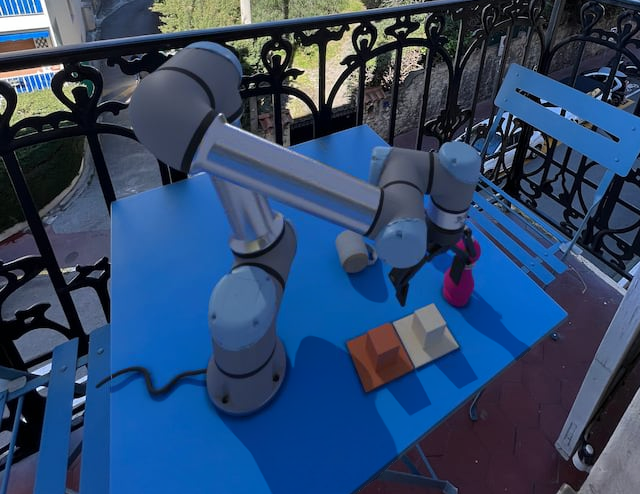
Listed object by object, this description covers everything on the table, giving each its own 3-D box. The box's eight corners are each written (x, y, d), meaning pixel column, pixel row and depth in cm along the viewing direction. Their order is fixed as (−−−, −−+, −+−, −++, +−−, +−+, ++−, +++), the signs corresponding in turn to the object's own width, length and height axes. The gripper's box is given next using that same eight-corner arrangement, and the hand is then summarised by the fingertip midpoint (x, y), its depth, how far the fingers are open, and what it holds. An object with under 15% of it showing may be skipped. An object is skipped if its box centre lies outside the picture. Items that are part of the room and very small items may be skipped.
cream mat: (415, 368, 84) (416, 367, 83) (392, 323, 92) (393, 322, 91) (458, 347, 88) (458, 346, 88) (433, 306, 96) (433, 305, 96)
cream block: (422, 350, 87) (427, 332, 84) (410, 328, 91) (414, 310, 88) (442, 341, 89) (446, 323, 86) (429, 319, 93) (433, 302, 90)
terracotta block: (375, 372, 82) (378, 355, 79) (365, 348, 86) (367, 331, 83) (396, 362, 84) (400, 345, 81) (385, 339, 88) (388, 322, 85)
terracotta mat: (365, 393, 79) (365, 391, 79) (346, 343, 87) (346, 342, 87) (413, 369, 83) (413, 368, 83) (390, 324, 91) (391, 323, 91)
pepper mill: (435, 285, 101) (448, 227, 93) (459, 278, 104) (474, 220, 95) (450, 312, 95) (466, 253, 87) (476, 303, 98) (494, 245, 89)
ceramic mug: (341, 278, 101) (344, 256, 98) (333, 251, 108) (335, 230, 105) (381, 269, 104) (384, 248, 101) (371, 244, 111) (374, 223, 108)
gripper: (398, 250, 69) (384, 328, 78) (509, 214, 79) (485, 286, 88) (379, 218, 75) (367, 293, 84) (484, 188, 85) (463, 258, 94)
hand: (427, 290), depth 86 cm, fingers open, 13 cm apart
